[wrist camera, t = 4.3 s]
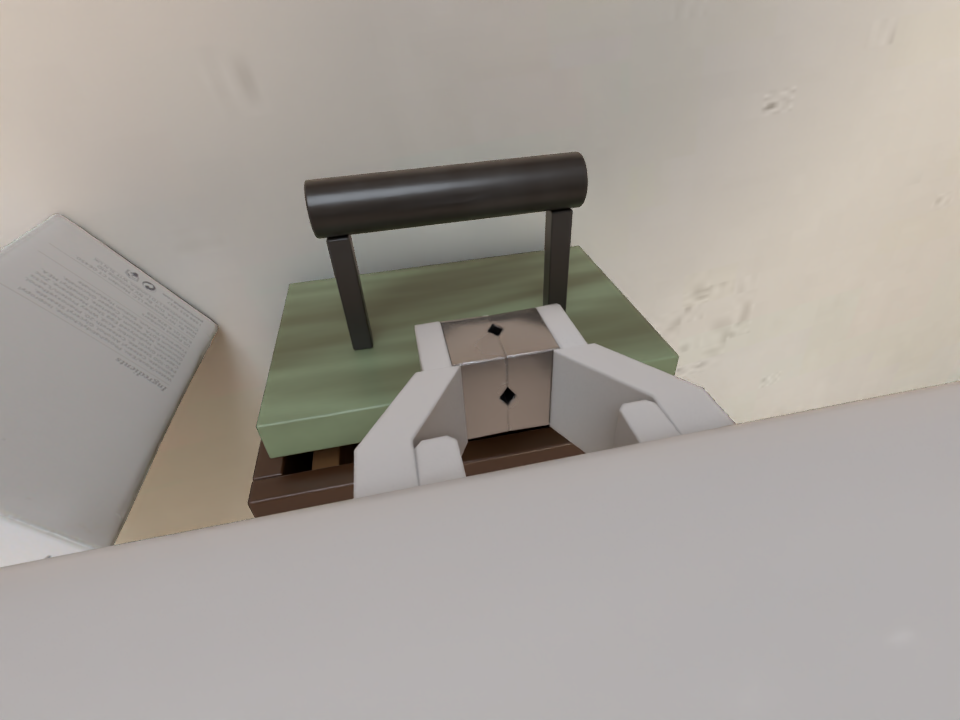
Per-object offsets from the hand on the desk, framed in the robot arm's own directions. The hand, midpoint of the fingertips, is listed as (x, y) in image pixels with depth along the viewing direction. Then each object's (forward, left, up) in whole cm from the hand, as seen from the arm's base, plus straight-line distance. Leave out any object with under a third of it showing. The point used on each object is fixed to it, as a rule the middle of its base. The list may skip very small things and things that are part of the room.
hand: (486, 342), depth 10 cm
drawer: (+7, 0, -9) cm, 11 cm away
